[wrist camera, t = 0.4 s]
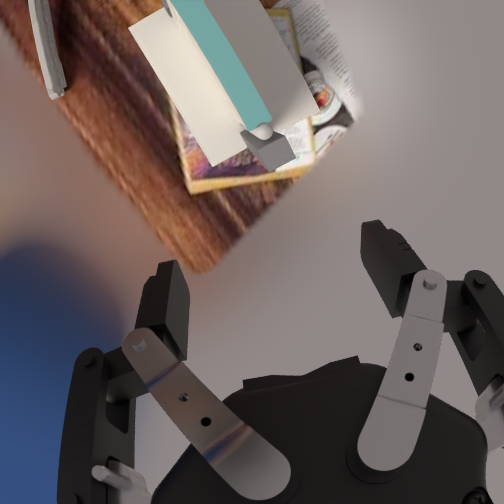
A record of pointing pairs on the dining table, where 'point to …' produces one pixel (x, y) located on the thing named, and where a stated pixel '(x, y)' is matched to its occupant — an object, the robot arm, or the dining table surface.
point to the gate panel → (222, 65)
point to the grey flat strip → (47, 48)
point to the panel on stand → (206, 92)
